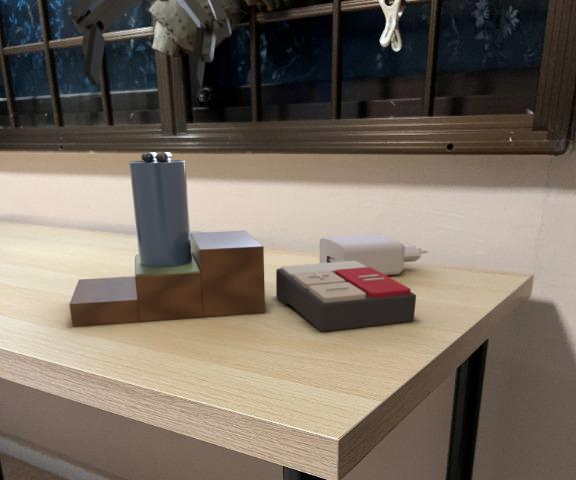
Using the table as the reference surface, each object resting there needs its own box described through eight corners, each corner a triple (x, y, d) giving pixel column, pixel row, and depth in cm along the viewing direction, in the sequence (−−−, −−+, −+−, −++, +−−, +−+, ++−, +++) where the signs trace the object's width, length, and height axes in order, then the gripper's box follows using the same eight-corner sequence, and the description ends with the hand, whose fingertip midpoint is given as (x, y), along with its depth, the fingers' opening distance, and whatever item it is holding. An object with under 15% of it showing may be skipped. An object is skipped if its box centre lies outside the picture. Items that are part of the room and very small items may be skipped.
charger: (439, 273, 88) (343, 281, 83) (408, 261, 96) (319, 268, 92) (442, 239, 86) (343, 246, 82) (410, 230, 94) (319, 236, 90)
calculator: (322, 297, 61) (275, 262, 74) (320, 338, 63) (275, 296, 75) (418, 288, 64) (357, 255, 77) (414, 326, 66) (355, 288, 79)
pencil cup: (149, 256, 74) (139, 151, 69) (197, 257, 73) (190, 151, 69) (132, 267, 68) (119, 153, 64) (184, 267, 68) (175, 153, 63)
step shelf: (72, 326, 65) (62, 256, 62) (81, 299, 76) (72, 238, 73) (265, 312, 69) (263, 246, 67) (247, 288, 80) (245, 230, 77)
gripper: (59, -96, 77) (33, 57, 74) (254, -95, 74) (236, 63, 71) (84, -45, 84) (61, 96, 81) (262, -43, 82) (246, 102, 79)
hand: (143, 81), depth 76 cm, fingers open, 13 cm apart
